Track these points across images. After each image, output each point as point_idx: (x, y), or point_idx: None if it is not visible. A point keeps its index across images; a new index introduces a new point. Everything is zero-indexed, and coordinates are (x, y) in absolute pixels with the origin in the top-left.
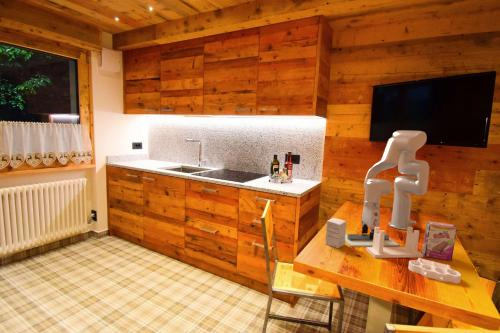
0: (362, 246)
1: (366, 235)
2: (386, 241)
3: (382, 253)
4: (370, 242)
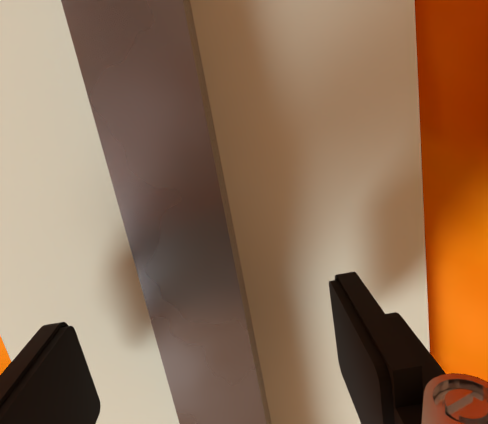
0: None
1: (240, 399)
2: (260, 7)
3: None
4: None
